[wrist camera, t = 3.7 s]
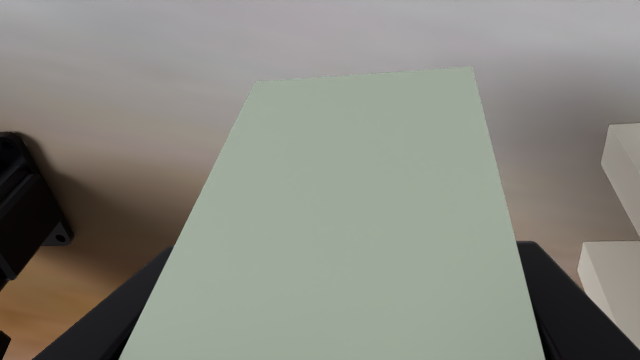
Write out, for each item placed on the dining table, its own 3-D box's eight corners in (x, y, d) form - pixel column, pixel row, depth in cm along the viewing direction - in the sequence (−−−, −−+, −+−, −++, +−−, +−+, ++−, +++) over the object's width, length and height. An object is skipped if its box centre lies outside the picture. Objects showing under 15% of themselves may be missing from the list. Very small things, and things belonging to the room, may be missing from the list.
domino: (469, 135, 13) (584, 725, 5) (269, 145, 14) (83, 653, 6) (472, 66, 12) (623, 675, 4) (255, 81, 12) (1, 598, 5)
